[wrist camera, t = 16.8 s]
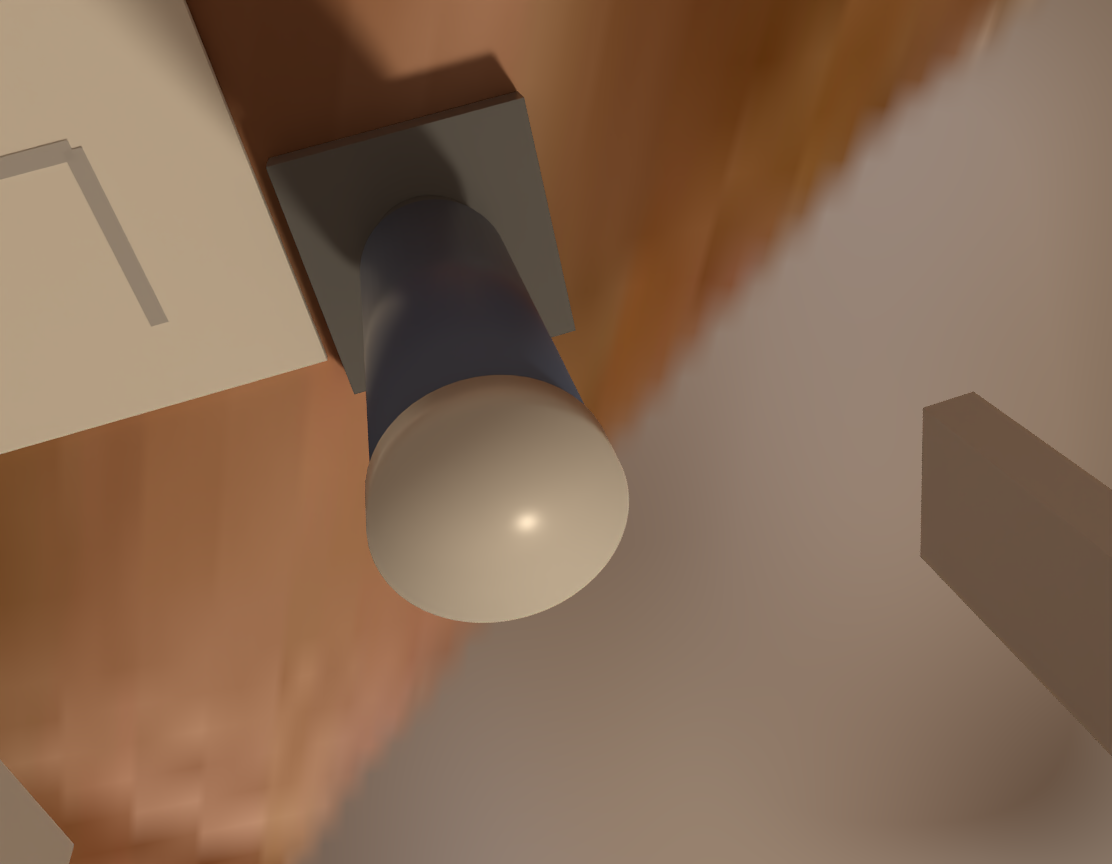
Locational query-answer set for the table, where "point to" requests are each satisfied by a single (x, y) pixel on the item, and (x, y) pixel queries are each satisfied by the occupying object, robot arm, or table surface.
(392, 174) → the coaster
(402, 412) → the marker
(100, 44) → the paper
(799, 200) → the table surface
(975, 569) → the robot arm
